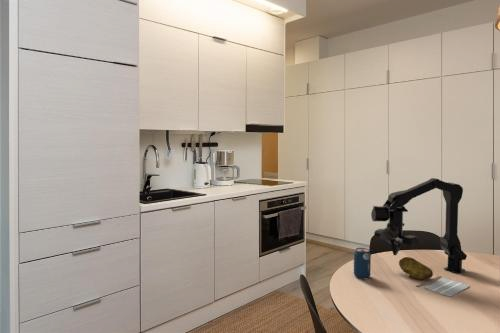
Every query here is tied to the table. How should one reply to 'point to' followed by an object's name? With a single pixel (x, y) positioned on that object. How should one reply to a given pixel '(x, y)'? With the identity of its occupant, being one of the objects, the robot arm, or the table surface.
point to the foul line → (428, 281)
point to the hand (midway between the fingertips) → (395, 255)
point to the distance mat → (447, 287)
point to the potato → (415, 268)
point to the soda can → (362, 263)
